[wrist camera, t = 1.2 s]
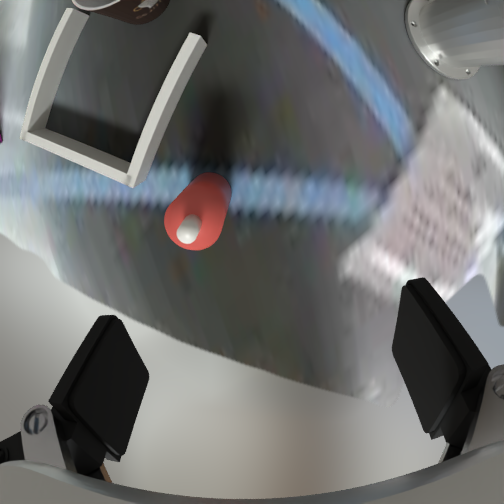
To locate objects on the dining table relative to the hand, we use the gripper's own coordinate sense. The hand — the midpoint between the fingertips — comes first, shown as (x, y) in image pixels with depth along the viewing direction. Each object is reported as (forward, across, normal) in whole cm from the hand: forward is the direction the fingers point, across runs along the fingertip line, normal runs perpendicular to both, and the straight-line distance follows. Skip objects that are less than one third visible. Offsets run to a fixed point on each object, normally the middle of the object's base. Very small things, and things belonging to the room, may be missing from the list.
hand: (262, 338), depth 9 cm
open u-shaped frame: (+26, +16, -14) cm, 34 cm away
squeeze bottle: (+26, +6, +1) cm, 27 cm away
